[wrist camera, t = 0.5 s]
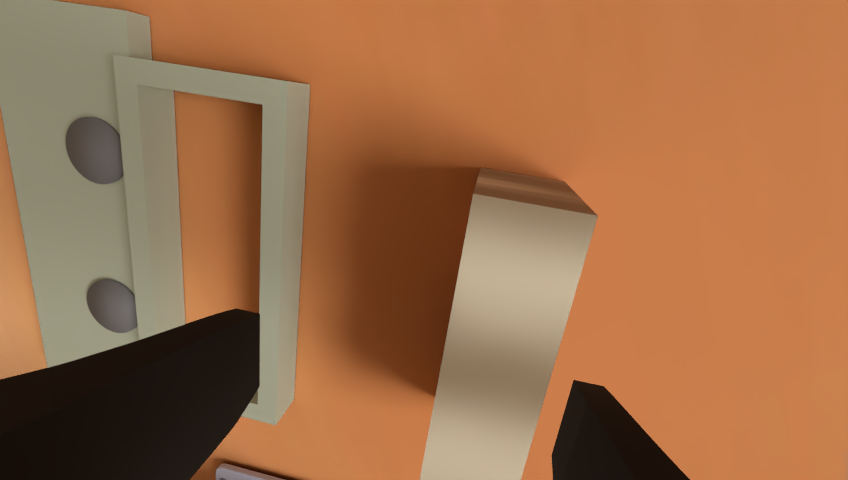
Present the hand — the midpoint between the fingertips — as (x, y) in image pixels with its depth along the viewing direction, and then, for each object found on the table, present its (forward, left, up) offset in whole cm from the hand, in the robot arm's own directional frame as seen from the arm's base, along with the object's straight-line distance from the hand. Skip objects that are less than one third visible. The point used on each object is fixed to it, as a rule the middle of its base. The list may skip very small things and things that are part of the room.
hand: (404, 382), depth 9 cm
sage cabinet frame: (-2, +15, -10) cm, 18 cm away
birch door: (-2, -2, -10) cm, 11 cm away
